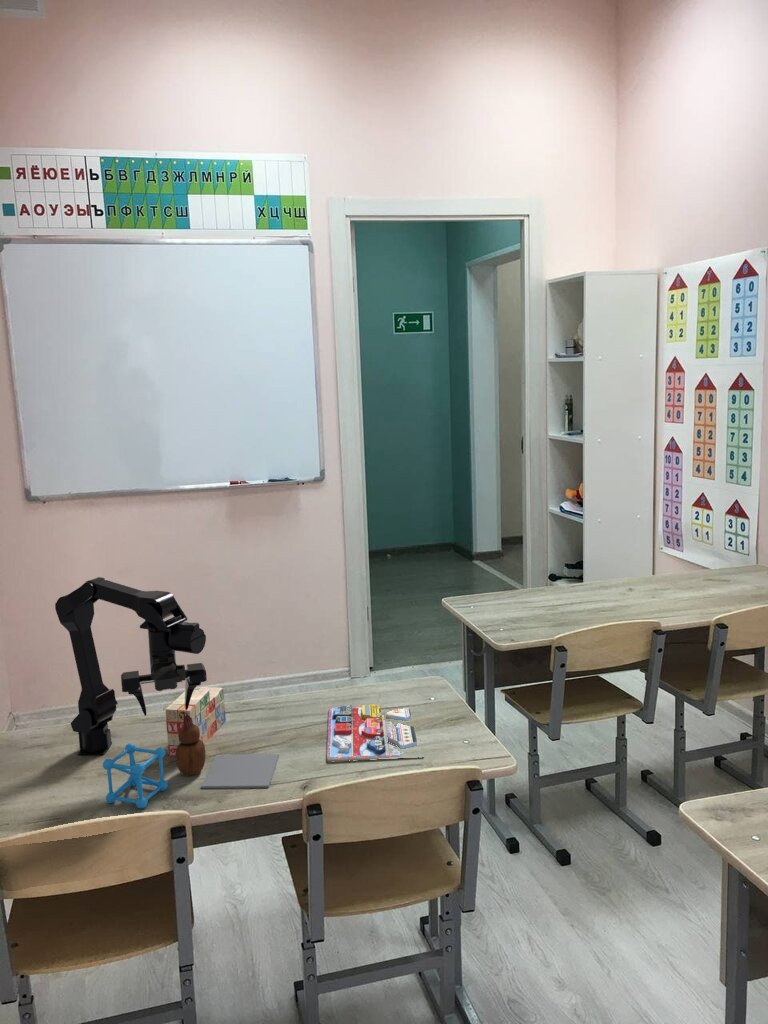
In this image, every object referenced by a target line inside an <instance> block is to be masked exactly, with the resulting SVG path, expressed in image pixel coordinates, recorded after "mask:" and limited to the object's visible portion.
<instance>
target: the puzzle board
mask: <svg viewBox="0 0 768 1024" xmlns="http://www.w3.org/2000/svg"><path fill="white" fill-rule="evenodd" d="M381 706H382V705H379V704H378V703H377V704H376V703H375V704H374V703H371V704H362V705H360V706H352V704H347V705H340V706H331V707H329V708H328V718H327V720H328V721H327V740H326V741H327V744H326V760H327V763H333V762H332V761H349V760H350V761H352V762H354V761H353V760H370V759H379V758H389V757H400V756H399V755H400V754H403V753H404V752H402V753H400V751H398V749H397V748H395V747H397V746H398V747H399V748H400V749H406V748H410V747H414V746H417V745H418V743H417V737H416V732H415V727H414V726H407V725H403V724H401V723H398V724H397V726H396V727H395V726H394V724H392V722H391V721H392V720H383V719H384V715H382V714H381V713H380V712H381ZM385 717H386V719H394V720H402V721H403V720H404V721H408V720H409V719H411V718H412V715H411V710H410V709H409V708H403V709H395V710H392V711H389V712H387V713H385ZM387 737H388V742H387ZM389 742H390V743H389ZM391 743H392V744H391ZM393 744H394V745H393ZM396 745H397V746H396Z"/></svg>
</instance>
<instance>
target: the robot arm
mask: <svg viewBox="0 0 768 1024" xmlns="http://www.w3.org/2000/svg"><path fill="white" fill-rule="evenodd" d="M99 600H101V601H104V602H107V603H110V604H113V605H117V606H120V607H124V608H126V609H129V610H132V611H133V612H135V613H136V615H137V616H138V617H140V618H141V619H142V620H144V621H143V622H142V623H141V624H140V625H139V629H142V630H147V635H148V637H147V638H148V652H149V666H150V668H149V669H150V673H147V674H140V673H139V670H131V671H125V672H122V674H121V675H120V679H121V680H120V681H121V692H122V693H128V695H132V696H134V697H135V698H136V700H137V701H138V704H139V706H140V709H141V710H142V712H143V714H144V716H146V717H147V707H146V702H145V697H144V694H143V693H144V691H143V688H142V685H143V684H151V683H152V684H153V683H154V689H155V691H158V692H161V691H163V690H165V691H166V690H175V689H177V688H178V683H183V681H184V682H185V687H184V688H185V689H184V691H185V709H186V710H187V709H188V706H189V703H190V699H191V696H192V693H193V691H194V690H196V687H198V686H200V685H202V683H204V682H208V681H207V670H206V667H205V665H204V663H202V662H198V663H191V664H189V663H188V664H186V665H185V664H177V661H176V660H177V659H176V652H180V653H188V654H194V655H198V654H200V653H201V652H203V650H204V648H205V646H206V642H207V635H206V634H205V631H204V630H203V629H202V628H200V623H199V622H186V621H188V617H187V616H186V614H185V612H184V611H183V609H182V608H181V606H180V605H179V603H178V602H177V600H176V598H175V596H174V594H172V592H169V591H164V590H163V591H162V590H147V591H145V590H140V589H137V588H134V587H130V586H128V585H124V584H120V583H119V582H118V583H117V582H114V581H111V580H107V579H106V578H104V577H100V576H98V577H95V578H92V579H90V580H87V581H85V582H84V583H83V584H82V585H80V586H79V587H77V588H76V589H75V590H73V591H71V592H70V593H69V594H68V593H67V594H66V595H63V596H60V597H59V598H58V599H57V601H56V602H55V603H54V607H55V608H54V609H55V613H56V615H57V618H58V620H59V623H60V625H62V627H64V628H65V630H67V632H68V634H69V637H70V642H71V646H72V651H73V654H74V655H73V657H74V660H75V664H76V669H77V673H78V678H79V682H80V687H81V691H80V694H79V698H78V700H77V701H78V702H77V708H78V713H77V715H76V716H75V717H74V719H72V721H70V726H71V729H72V732H75V733H77V734H78V745H79V750H78V751H77V753H76V754H77V755H78V756H103V755H105V754H106V752H107V751H108V749H110V747H111V745H112V744H113V741H112V736H111V735H112V734H111V729H110V728H109V722H111V721H113V716H114V714H115V713H116V711H117V706H118V704H119V703H118V701H117V699H116V694H115V693H116V692H115V689H114V688H110V689H109V688H108V687H107V685H106V684H104V682H103V677H102V673H101V668H100V663H99V659H98V654H97V649H96V646H95V641H94V637H93V632H92V623H93V620H94V618H95V617H94V616H95V603H96V602H98V601H99ZM171 616H173V617H171ZM169 617H170V618H169ZM167 618H169V619H167ZM165 619H166V620H165Z"/></svg>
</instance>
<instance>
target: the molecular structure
mask: <svg viewBox="0 0 768 1024" xmlns="http://www.w3.org/2000/svg"><path fill="white" fill-rule="evenodd" d="M124 746H125V747H124V751H122V752H120V753H119V754H118V755H116V756H115V757H114V758H107V759H104V760H103V762H102V768H103V769H104V770H105V771H107V773H106V774H107V781H108V782H107V783H108V793H107V794H106V795H105V801H106V802H107V803H109V804H114V803H115V802H116V801H118V802H119V801H120V802H125V803H131V804H136V807H137V808H139V809H145V808H146V807H147V806H148V800H150V798H152V797H153V796H154V795H156V794H158V792H159V791H160V792H164V791H166V790H167V789H168V787H169V783H168V781H167V780H165V778H164V767H163V766H164V765H163V764H164V763H163V758H164V757H165V756H166V750H165V748H163V747H157V748H156V749H147V748H142V747H136V744H134V742H133V743H132V742H129V743H127V744H126V745H124ZM135 752H141V753H147V754H153V756H151V757H150V758H149V759H148V760H146V761H145V762H143V763H141V762H140V763H139V762H138V763H136V760H135V755H134V753H135ZM126 754H128V756H129V765H128V764H121V763H115V762H116V761H118V760H120V759H121V758H122V757H124V756H125V755H126ZM157 759H158V765H159V766H158V769H159V779H160V780H158V781H157V780H154V779H151V778H149V777H147V776H144V775H143V774H144V773H145V770H146V769H147V768H148V767H149V766H150V765H151V764H152V763H153V762H154V761H156V760H157ZM112 769H115V770H117V771H120V772H123V773H125V774H127V775H130V776H129V777H128V778H127V780H126V781H125V782H124V783H123V784H122V785H121V786H119V788H117V790H116V791H113V780H112V779H113V778H112ZM143 785H147V786H154V787H156V788H155V789H154V790H152V792H150V793H149V794H148V795H146V796H145V797H144V791H143ZM129 786H131V787H135V786H136V790H137V796H138V798H137V799H133V798H128V797H122V796H118V795H119V794H121V793H122V792H123V791H124V790H126V789H127V788H128V787H129Z"/></svg>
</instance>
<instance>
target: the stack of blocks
mask: <svg viewBox="0 0 768 1024" xmlns="http://www.w3.org/2000/svg"><path fill="white" fill-rule="evenodd" d="M224 693H225V692H224V688H223V687H212V686H211V687H209V686H208V687H207V686H201V687H200V688H199V689H194V691H193V693H192V696H191V699H190V703H189V706H188V709H187V710H186V709H185V690H184V691H183V692H182V693H181V694H180V695H179V696H178V697H177V698H176V699H175V700H174V701H173V702H172V703H170V704H169V705H168V706H167V707H166V708H165V720H166V722H165V723H166V725H165V726H166V733H167V747H168V749H167V750H168V757H175V754H176V749H177V747H178V745H179V744H180V743H181V742H180V741H179V737H178V734H179V730H180V728H181V727H182V726H184V714H185V716H186V713H188V716H190V717H192V721H193V724H194V725H197V726H198V727H199V730H200V737H199V739H200V740H201V741H202V742H203V743H204V746H205V745H206V744H207V743H208V742H209V740H210V739H211V738H212V736H214V734H215V733H216V732H217V731H218V730H219V729H220V728H221V726H223V724H224V723H225V722H226V720H227V719H226V707H225V706H226V705H225V704H226V703H225V702H226V701H225V698H224V697H225V694H224Z"/></svg>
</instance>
